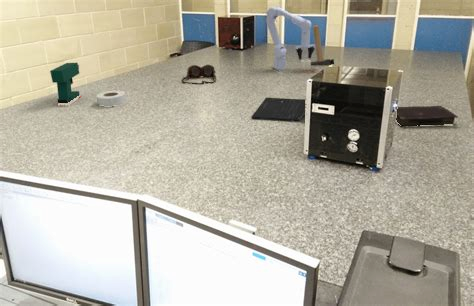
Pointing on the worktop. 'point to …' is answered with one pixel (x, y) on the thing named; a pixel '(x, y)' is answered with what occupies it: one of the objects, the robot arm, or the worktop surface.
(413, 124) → the diary
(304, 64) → the hollow square socket
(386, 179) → the worktop surface
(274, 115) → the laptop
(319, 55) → the hammer
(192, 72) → the goggles
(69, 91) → the power tool
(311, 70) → the brown rectangular board
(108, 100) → the roll of tape
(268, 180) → the worktop surface
